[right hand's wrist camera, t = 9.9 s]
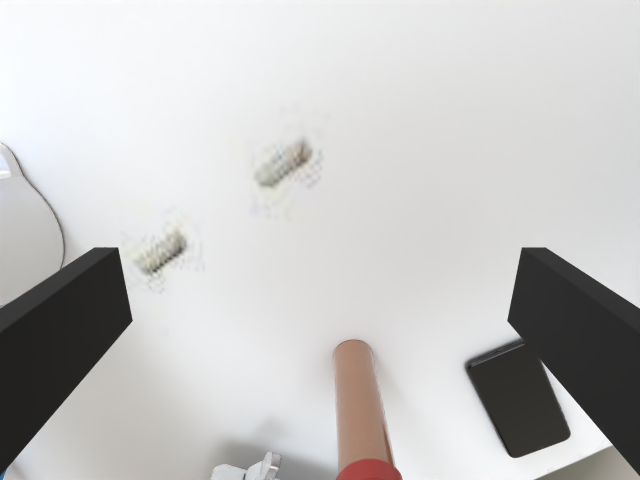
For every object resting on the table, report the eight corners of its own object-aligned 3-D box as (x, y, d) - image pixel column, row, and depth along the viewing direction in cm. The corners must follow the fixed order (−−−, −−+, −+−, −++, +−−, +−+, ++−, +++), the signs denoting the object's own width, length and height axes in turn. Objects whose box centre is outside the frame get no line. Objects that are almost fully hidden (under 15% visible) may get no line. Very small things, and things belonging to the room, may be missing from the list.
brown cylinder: (350, 379, 44) (366, 532, 28) (325, 354, 43) (327, 500, 27) (380, 357, 43) (415, 504, 27) (355, 332, 42) (376, 470, 26)
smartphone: (461, 362, 43) (507, 455, 47) (463, 367, 42) (511, 461, 47) (528, 334, 41) (569, 432, 46) (533, 339, 41) (574, 438, 45)
